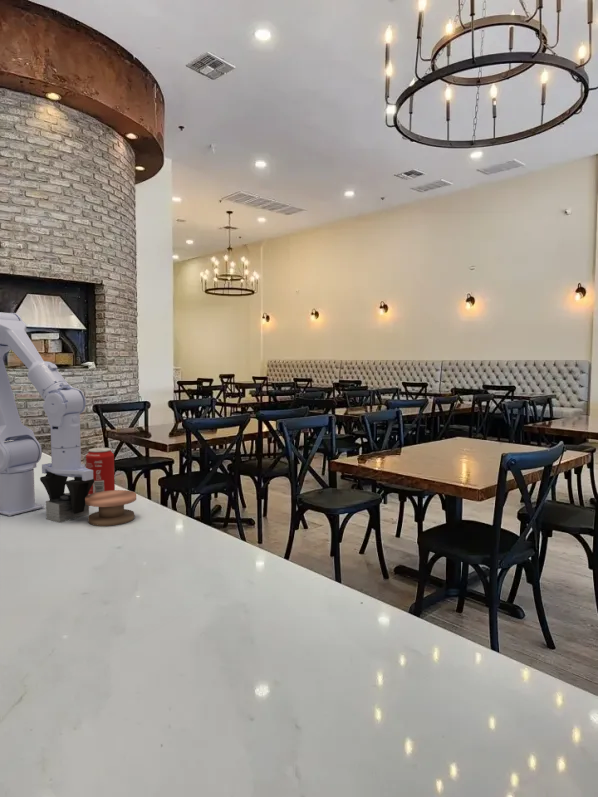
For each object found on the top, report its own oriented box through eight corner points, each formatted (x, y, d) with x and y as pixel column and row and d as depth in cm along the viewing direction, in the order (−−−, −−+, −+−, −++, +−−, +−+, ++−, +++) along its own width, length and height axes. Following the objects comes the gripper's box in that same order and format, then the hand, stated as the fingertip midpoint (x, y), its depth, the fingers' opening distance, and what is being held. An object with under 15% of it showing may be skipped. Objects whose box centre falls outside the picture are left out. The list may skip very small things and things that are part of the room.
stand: (75, 521, 111) (74, 497, 111) (115, 510, 120) (114, 488, 119) (107, 529, 106) (107, 504, 106) (146, 517, 114) (146, 493, 114)
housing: (46, 520, 113) (45, 496, 113) (76, 512, 119) (75, 489, 119) (59, 523, 111) (58, 499, 110) (89, 515, 116) (88, 492, 116)
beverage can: (119, 496, 132) (118, 447, 132) (107, 502, 126) (106, 451, 125) (94, 495, 133) (93, 447, 132) (81, 502, 127) (80, 451, 126)
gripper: (104, 446, 113) (106, 510, 114) (61, 441, 121) (63, 501, 122) (75, 451, 107) (77, 518, 108) (31, 445, 115) (34, 508, 116)
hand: (67, 510), depth 115 cm, fingers open, 6 cm apart
